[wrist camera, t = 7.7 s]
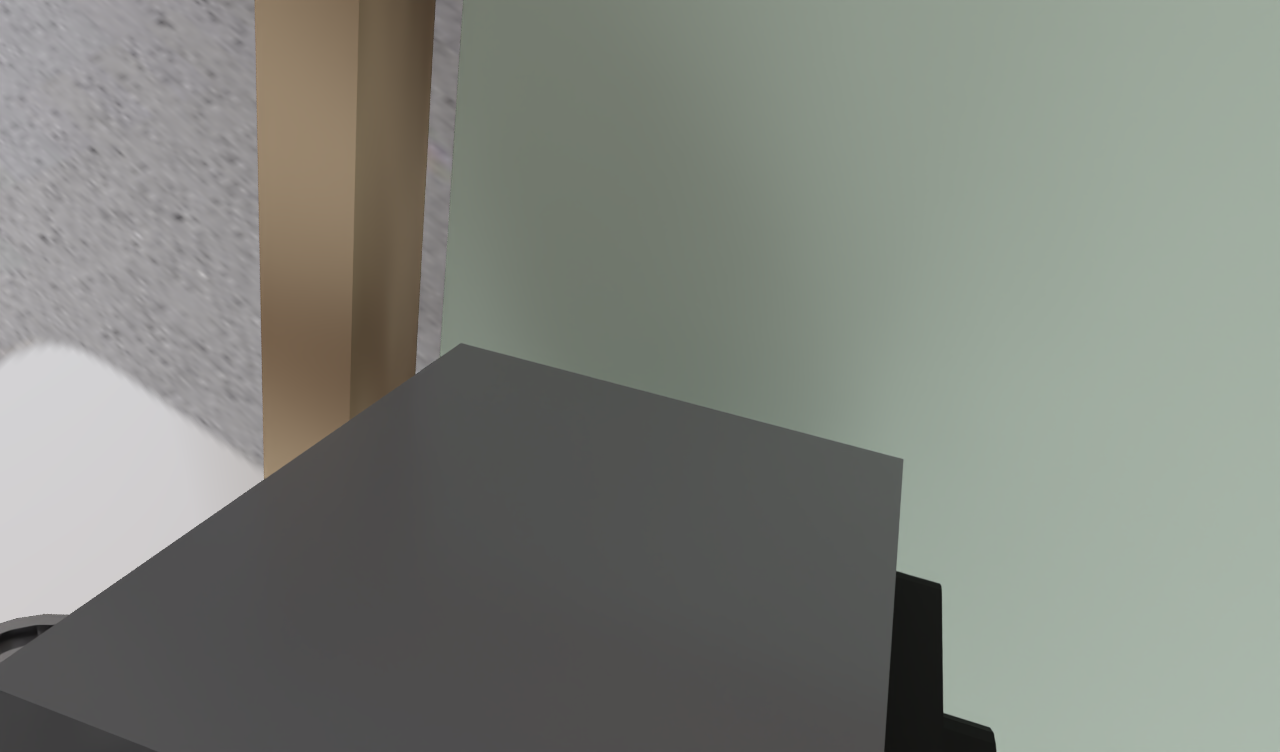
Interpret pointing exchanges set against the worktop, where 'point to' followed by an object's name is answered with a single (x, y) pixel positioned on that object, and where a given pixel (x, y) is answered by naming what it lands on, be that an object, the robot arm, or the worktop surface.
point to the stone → (500, 589)
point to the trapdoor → (934, 301)
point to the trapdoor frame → (338, 208)
